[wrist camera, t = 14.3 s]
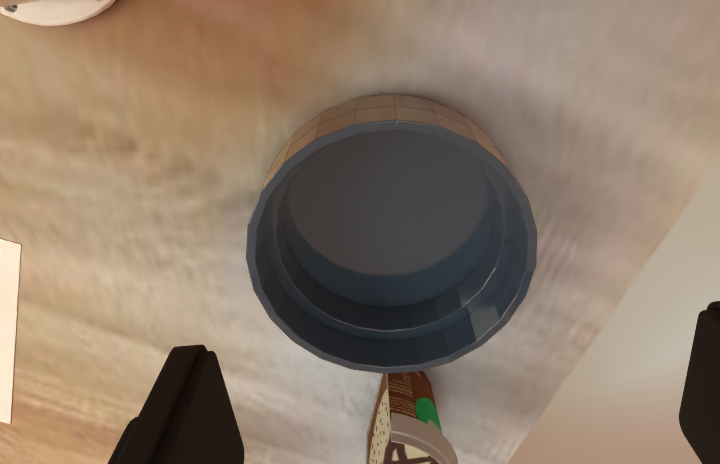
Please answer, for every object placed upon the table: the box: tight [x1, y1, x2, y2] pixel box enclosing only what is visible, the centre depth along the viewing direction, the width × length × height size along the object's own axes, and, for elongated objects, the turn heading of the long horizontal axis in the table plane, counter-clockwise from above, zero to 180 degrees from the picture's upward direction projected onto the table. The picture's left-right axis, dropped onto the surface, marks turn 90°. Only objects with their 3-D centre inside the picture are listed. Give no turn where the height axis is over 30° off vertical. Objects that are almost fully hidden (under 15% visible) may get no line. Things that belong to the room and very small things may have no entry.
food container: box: [366, 371, 458, 464], centre depth 44 cm, size 12×6×10 cm, turn 171°
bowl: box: [246, 94, 537, 374], centre depth 38 cm, size 18×18×6 cm
